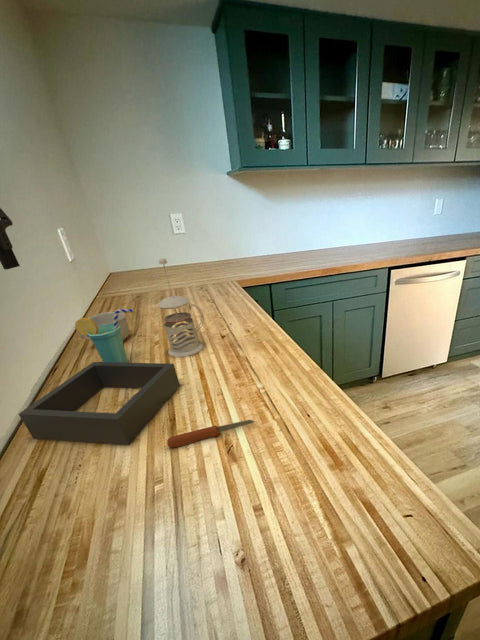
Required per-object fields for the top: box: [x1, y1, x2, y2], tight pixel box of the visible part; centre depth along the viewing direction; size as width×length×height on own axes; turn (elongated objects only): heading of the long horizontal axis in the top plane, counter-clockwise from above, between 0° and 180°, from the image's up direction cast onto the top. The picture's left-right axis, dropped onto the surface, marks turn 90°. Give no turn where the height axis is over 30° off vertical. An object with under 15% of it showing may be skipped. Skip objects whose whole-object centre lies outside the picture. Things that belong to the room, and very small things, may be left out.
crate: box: [18, 361, 181, 446], centre depth 70 cm, size 21×20×6 cm
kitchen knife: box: [166, 419, 255, 448], centre depth 61 cm, size 16×1×2 cm, turn 109°
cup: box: [74, 308, 133, 363], centre depth 86 cm, size 14×8×15 cm, turn 111°
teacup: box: [76, 311, 130, 342], centre depth 102 cm, size 14×11×8 cm
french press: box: [157, 258, 205, 358], centre depth 90 cm, size 10×12×25 cm
